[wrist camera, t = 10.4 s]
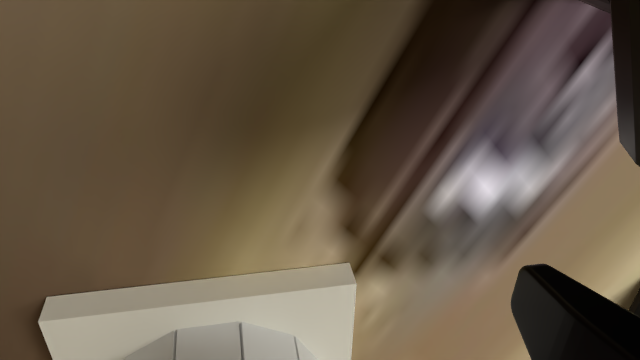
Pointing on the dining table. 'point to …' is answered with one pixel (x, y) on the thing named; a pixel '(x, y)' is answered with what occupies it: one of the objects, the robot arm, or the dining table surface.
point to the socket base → (210, 319)
